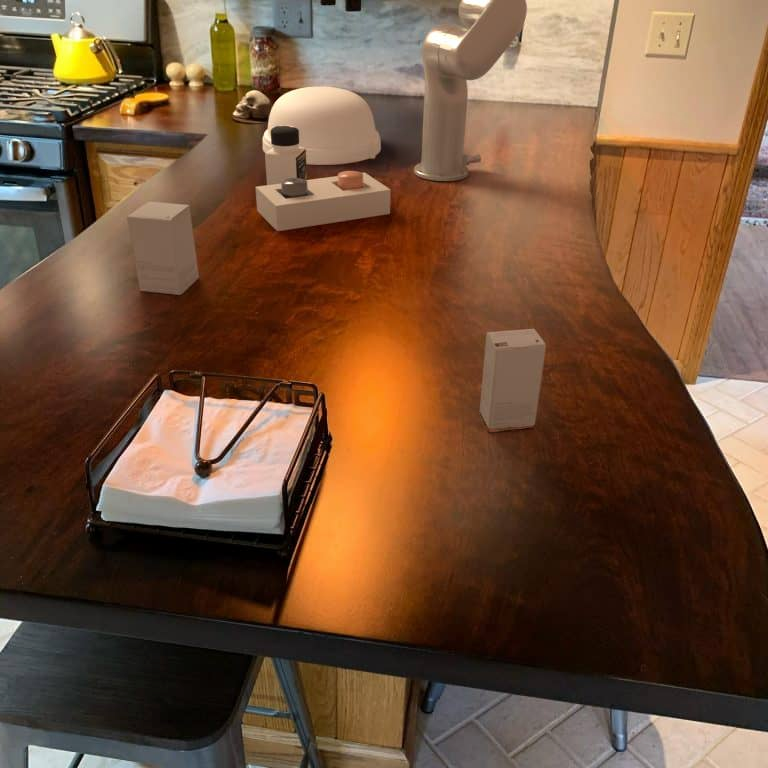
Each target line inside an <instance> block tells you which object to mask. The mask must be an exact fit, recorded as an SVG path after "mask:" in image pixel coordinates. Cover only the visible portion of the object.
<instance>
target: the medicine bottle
mask: <svg viewBox="0 0 768 768" xmlns="http://www.w3.org/2000/svg"><path fill="white" fill-rule="evenodd" d="M271 147H272V149H270V150H269V151H268V152H267V153H265V154H264V156H265V158H264V159H265V160H264V161H265V171H266V172H265V173H266V185H273V184H281V182H282V181H283V180H285V179H289V178H301V179H305V180H307V177H308V176H307V164H306V148H305V147H299V130H298V129H297V128H296V127H293V126H289V125H280V126H276V127H274V128H272V129H271Z"/></svg>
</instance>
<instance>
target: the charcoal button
mask: <svg viewBox="0 0 768 768" xmlns="http://www.w3.org/2000/svg"><path fill="white" fill-rule="evenodd" d="M306 180H307V179H301V178H289V179H285V180H283V181H282V182H281V185H282V196H283V197H284V198H285V199H288V198H295V197H302V196H308V191H307V181H306Z"/></svg>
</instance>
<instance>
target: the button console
mask: <svg viewBox="0 0 768 768" xmlns="http://www.w3.org/2000/svg"><path fill="white" fill-rule="evenodd" d="M361 173H362V174H363V188H360V189H353V190H345V191H343V190H341V189H340V188H339V187H338V175H336V176H335V175H334V176H329V177H322V178H321V177H319V178H313V179H305V180H306V181H307V191H308V196H302V197H295V198H288V199H285V198H284V197H283V196H282V185H281V184H273V185H267V184H266V185H259V186H255V197H256V198H255V199H256V211H257V212H258V213H259V215H260V216H262V217H263V219H264V220H265V221H266V222H268V223H269V225H270V226H271V227H272V228H273V229H274V230H276V231H277V232H282V231H283V232H284V231H289V230H295V229H300V228H306V227H307V228H308V227H314V226H319V225H326V224H333V223H338V222H346V221H351V220H358V219H364V218H365V219H366V218H372V217H378V216H384V215H389V214H390V215H391V189H390V188H389V187H388V186H386V185H384V184H383V183H381V182H380V181H378V180H377V179H375V178H373V176H370V175H369V174H368V173H367V172H361Z"/></svg>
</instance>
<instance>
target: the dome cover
mask: <svg viewBox="0 0 768 768" xmlns="http://www.w3.org/2000/svg"><path fill="white" fill-rule="evenodd" d="M280 125H289V126H293V127H296V128H297V129H298V130H299V147H305V148H306V165H313V166H317V165H319V166H321V165H322V166H325V165H326V166H329V165H330V166H331V165H344V164H350V163H351V164H352V163H357V162H360V161H365V160H368V159H373V160H374V159H375V158H376V156H377V155H378V154H379V153H380V152H381V149H382V146H381V145H382V143H381V136H380V133H379V132H378V130H377V129H376V125H375V119H374V116H373V112H372V110H371V108H370V105H369V104H368V103H367V101H366V100H365V99H364V98H363V97H362V96H360V95H358V94H357V93H355V92H352V91H351V90H348V89H344V88H340V87H334V86H333V87H332V86H308V87H302V88H301V87H300V88H297V89H293V90H290V91H288V92H286V93H284V94H283V95H281V96H280V97H279V98H278V99H277V100H276V101H275V102H274V104H273V105H272V106H271V112H270V116H269V119H268V123H267V129H266V130H265V131H264V133H263V136H262V151H263V152H264V153H265V154H266V153H267V152H268V151H269V150H270V149H272V147H271V129H272V128H274V127H276V126H280Z"/></svg>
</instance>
